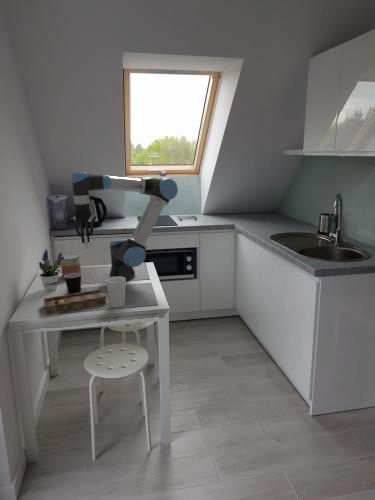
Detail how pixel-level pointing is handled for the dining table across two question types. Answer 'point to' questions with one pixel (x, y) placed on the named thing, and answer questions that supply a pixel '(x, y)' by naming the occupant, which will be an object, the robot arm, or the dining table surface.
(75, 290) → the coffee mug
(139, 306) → the dining table surface
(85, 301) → the tray
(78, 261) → the canned food
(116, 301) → the foam cup
